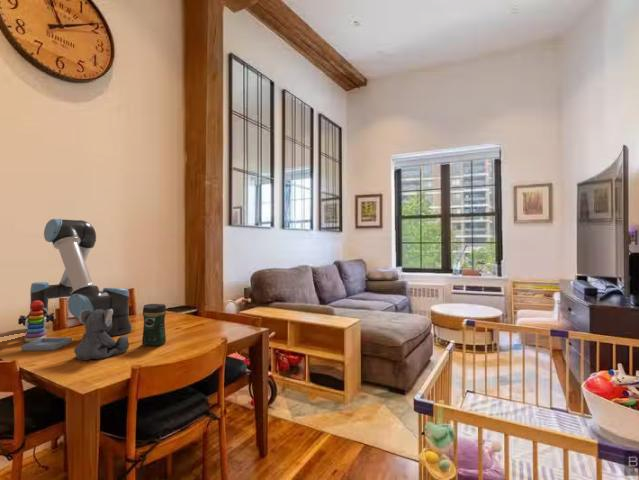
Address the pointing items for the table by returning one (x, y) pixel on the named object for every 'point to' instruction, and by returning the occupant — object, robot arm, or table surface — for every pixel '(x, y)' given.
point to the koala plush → (98, 336)
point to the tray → (46, 344)
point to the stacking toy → (35, 322)
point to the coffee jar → (154, 324)
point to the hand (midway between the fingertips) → (35, 322)
